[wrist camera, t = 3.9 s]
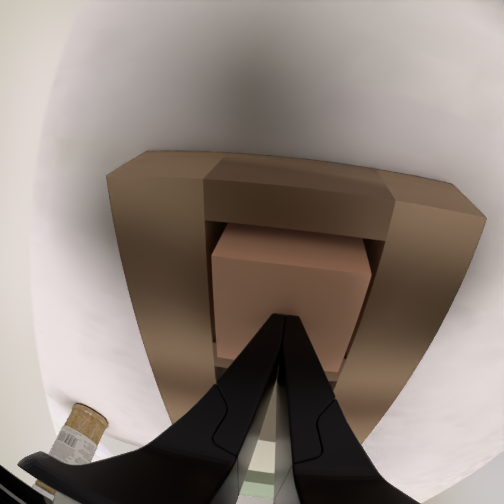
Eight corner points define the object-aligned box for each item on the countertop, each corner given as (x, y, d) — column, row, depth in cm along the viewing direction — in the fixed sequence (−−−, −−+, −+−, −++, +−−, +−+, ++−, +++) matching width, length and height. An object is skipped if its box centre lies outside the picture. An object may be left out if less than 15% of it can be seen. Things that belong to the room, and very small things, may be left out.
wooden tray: (335, 443, 22) (334, 474, 19) (194, 424, 23) (184, 454, 21) (452, 184, 10) (486, 218, 8) (147, 150, 12) (106, 175, 9)
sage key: (290, 465, 19) (285, 500, 16) (230, 457, 19) (222, 491, 17) (299, 444, 16) (294, 487, 14) (229, 435, 17) (219, 476, 15)
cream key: (307, 428, 15) (302, 475, 13) (228, 417, 16) (216, 464, 13) (323, 386, 13) (321, 446, 10) (225, 374, 13) (209, 431, 11)
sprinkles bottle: (78, 412, 29) (35, 500, 18) (71, 396, 27) (21, 493, 16) (111, 429, 29) (71, 520, 18) (107, 415, 27) (61, 518, 16)
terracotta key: (335, 316, 13) (338, 372, 10) (234, 303, 13) (217, 357, 11) (358, 224, 11) (371, 274, 8) (234, 210, 11) (211, 255, 9)
